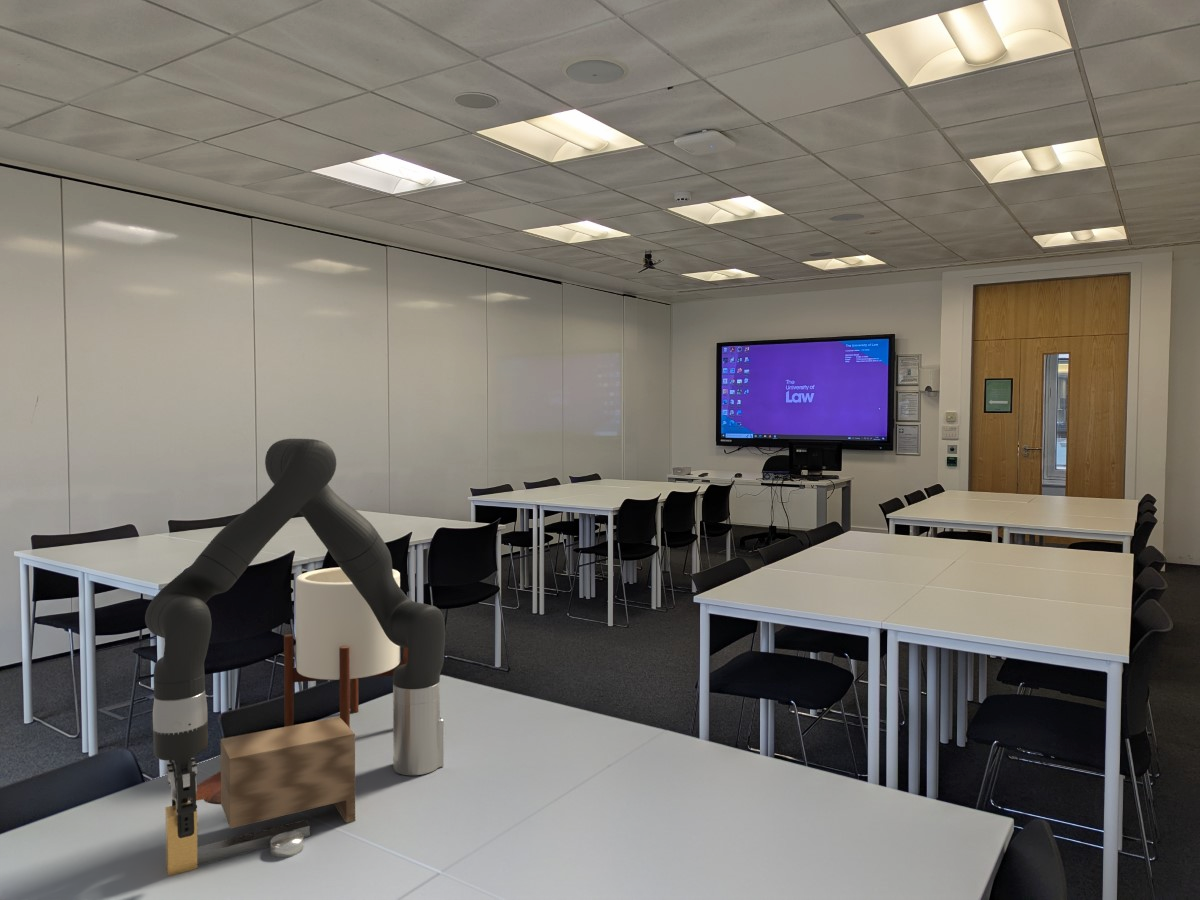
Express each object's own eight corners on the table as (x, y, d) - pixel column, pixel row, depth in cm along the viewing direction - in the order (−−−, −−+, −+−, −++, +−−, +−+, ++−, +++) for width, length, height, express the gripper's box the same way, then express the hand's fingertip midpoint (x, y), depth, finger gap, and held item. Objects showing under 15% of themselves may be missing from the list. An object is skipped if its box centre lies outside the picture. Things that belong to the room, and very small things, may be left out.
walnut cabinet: (339, 798, 148) (339, 716, 148) (355, 820, 140) (354, 733, 139) (221, 827, 137) (220, 738, 137) (230, 853, 129) (229, 758, 129)
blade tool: (304, 828, 137) (304, 776, 137) (310, 838, 134) (310, 784, 133) (165, 863, 126) (165, 807, 125) (168, 875, 122) (167, 817, 122)
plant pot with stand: (421, 725, 185) (420, 571, 185) (343, 758, 166) (342, 587, 166) (354, 707, 197) (354, 563, 196) (275, 736, 178) (274, 576, 177)
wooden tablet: (227, 808, 146) (227, 799, 146) (179, 802, 148) (179, 793, 148) (308, 751, 172) (308, 743, 172) (266, 747, 174) (266, 739, 174)
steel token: (300, 840, 133) (300, 828, 133) (306, 854, 129) (306, 841, 129) (268, 847, 131) (268, 835, 131) (272, 862, 127) (272, 849, 127)
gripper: (213, 731, 121) (215, 837, 121) (201, 703, 133) (203, 800, 133) (156, 742, 117) (159, 851, 117) (149, 713, 129) (152, 812, 129)
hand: (183, 824), depth 125 cm, fingers open, 8 cm apart
